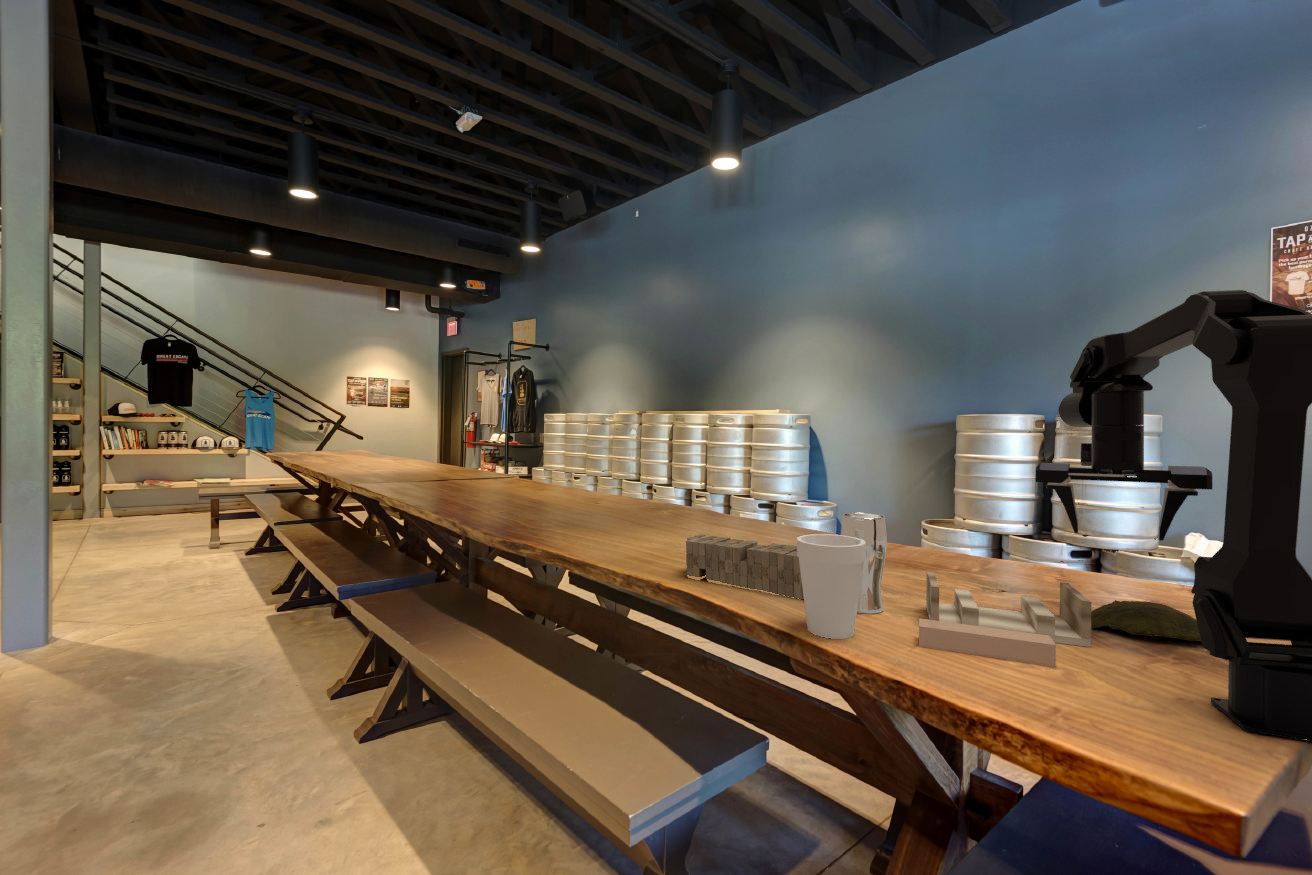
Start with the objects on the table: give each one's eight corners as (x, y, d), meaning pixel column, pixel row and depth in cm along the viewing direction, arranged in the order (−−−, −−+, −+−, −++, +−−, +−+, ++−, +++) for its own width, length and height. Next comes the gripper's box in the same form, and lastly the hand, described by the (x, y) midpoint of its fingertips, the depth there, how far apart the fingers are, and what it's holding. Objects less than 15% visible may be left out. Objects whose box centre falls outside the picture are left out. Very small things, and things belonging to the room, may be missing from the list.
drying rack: (1090, 646, 74) (1091, 601, 74) (931, 627, 81) (931, 586, 81) (1067, 623, 83) (1068, 582, 83) (926, 607, 90) (926, 570, 90)
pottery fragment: (1190, 659, 71) (1190, 627, 71) (1067, 624, 83) (1067, 597, 83) (1235, 642, 77) (1235, 611, 77) (1114, 611, 89) (1114, 585, 89)
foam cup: (813, 615, 86) (813, 531, 86) (874, 629, 80) (874, 539, 80) (785, 632, 79) (785, 540, 79) (850, 648, 73) (850, 549, 73)
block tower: (680, 582, 109) (826, 606, 92) (678, 539, 109) (825, 554, 92) (701, 574, 115) (842, 594, 98) (700, 533, 115) (841, 546, 98)
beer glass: (836, 610, 89) (837, 516, 88) (844, 599, 95) (844, 511, 95) (883, 617, 85) (884, 519, 85) (888, 605, 92) (888, 514, 91)
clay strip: (1049, 659, 71) (1049, 635, 71) (1055, 669, 68) (1055, 644, 68) (919, 639, 77) (919, 618, 77) (918, 648, 74) (919, 626, 74)
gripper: (1201, 426, 79) (1201, 536, 79) (1042, 427, 91) (1042, 523, 91) (1213, 424, 70) (1213, 547, 70) (1035, 426, 82) (1035, 531, 82)
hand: (1117, 536), depth 79 cm, fingers open, 9 cm apart
